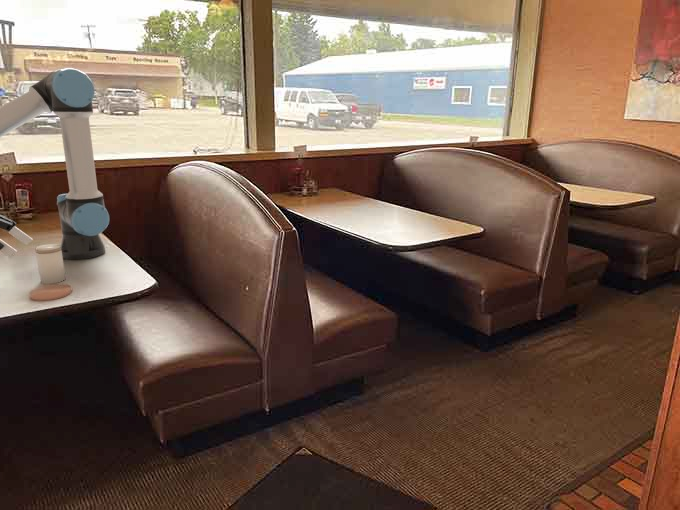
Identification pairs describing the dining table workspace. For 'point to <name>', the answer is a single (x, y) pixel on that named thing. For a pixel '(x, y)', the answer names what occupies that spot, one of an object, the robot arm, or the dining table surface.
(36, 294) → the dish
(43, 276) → the cup
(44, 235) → the dining table surface
